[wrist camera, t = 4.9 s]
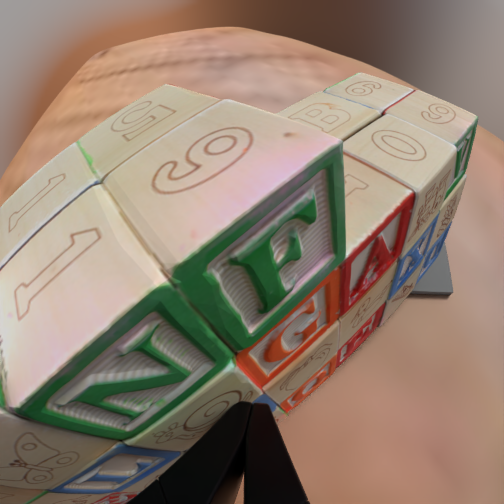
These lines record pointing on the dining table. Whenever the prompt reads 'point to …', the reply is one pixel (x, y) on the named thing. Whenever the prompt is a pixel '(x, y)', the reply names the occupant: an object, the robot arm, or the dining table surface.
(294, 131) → the stack of blocks
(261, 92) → the dining table surface
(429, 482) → the dining table surface
